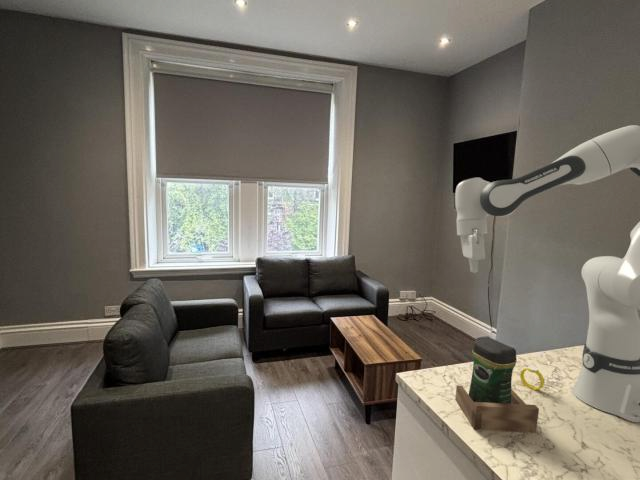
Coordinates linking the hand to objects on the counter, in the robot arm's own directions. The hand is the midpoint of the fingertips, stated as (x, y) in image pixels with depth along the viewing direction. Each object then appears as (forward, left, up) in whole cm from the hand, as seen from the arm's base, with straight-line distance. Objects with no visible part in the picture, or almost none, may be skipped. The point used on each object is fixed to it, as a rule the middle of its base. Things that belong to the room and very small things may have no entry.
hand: (474, 272), depth 108 cm
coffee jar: (+5, +26, -31) cm, 40 cm away
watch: (-13, +14, -31) cm, 36 cm away
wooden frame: (+4, +27, -30) cm, 41 cm away
